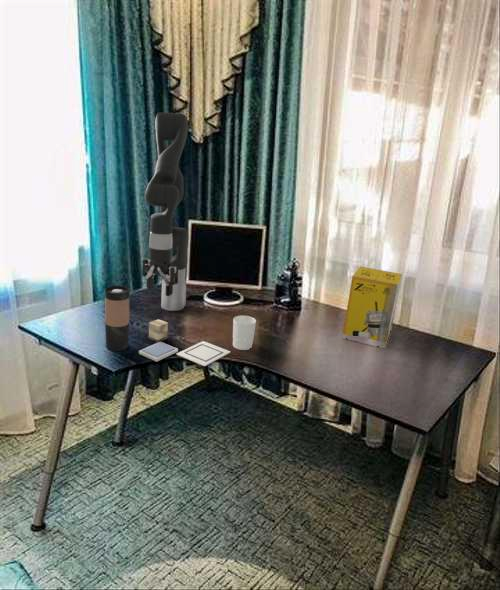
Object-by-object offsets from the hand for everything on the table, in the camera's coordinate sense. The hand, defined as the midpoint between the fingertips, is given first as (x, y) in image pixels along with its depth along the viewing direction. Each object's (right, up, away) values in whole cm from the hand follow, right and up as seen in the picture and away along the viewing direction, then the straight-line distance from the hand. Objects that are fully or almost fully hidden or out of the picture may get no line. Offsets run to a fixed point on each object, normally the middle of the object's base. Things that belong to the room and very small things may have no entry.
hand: (159, 292), depth 166 cm
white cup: (+28, -19, +6) cm, 34 cm away
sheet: (+15, -20, -2) cm, 26 cm away
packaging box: (+76, -17, +24) cm, 82 cm away
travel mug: (-13, -18, -3) cm, 23 cm away
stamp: (-1, -16, +6) cm, 17 cm away
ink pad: (+1, -20, -5) cm, 20 cm away
